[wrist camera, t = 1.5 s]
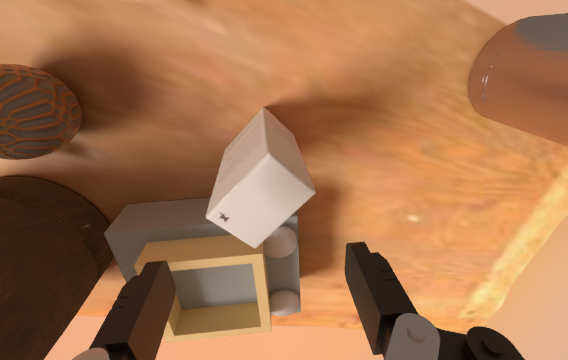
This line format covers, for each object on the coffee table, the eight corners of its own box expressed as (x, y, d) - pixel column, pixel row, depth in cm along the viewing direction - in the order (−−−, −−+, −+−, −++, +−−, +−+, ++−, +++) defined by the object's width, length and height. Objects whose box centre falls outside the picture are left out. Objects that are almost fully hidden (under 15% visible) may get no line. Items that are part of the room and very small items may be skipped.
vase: (69, 53, 22) (-32, 61, 14) (109, 132, 25) (43, 173, 18) (-11, 69, 22) (-156, 85, 15) (38, 146, 26) (-58, 192, 18)
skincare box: (256, 173, 29) (253, 252, 18) (224, 148, 27) (201, 218, 17) (296, 133, 27) (319, 194, 16) (264, 103, 25) (267, 150, 15)
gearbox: (291, 190, 30) (301, 236, 23) (295, 279, 36) (304, 336, 29) (127, 204, 29) (84, 256, 22) (161, 292, 36) (137, 354, 29)
